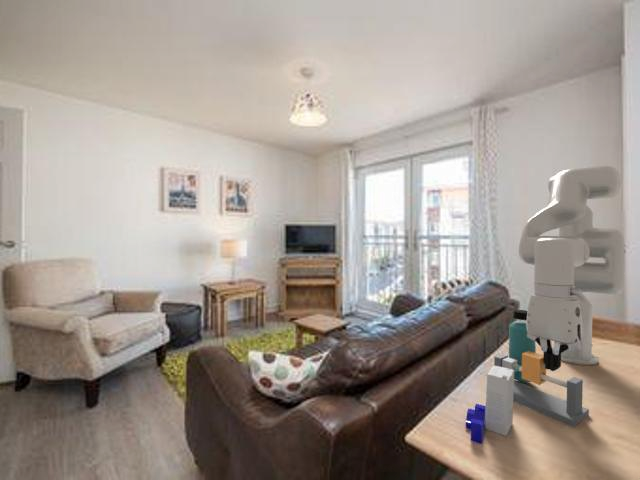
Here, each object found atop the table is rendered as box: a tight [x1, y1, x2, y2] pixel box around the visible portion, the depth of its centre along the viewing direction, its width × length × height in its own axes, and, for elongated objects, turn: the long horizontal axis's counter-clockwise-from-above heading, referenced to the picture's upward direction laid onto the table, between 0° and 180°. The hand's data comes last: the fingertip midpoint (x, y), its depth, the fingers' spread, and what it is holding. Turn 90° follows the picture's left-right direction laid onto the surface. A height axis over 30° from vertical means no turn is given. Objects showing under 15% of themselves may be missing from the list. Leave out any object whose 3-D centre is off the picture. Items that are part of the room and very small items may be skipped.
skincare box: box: [485, 365, 515, 436], centre depth 70 cm, size 6×4×12 cm
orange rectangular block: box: [522, 351, 547, 386], centre depth 80 cm, size 3×4×6 cm
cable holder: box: [465, 403, 486, 445], centre depth 69 cm, size 8×4×4 cm, turn 148°
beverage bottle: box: [508, 309, 537, 383], centre depth 90 cm, size 6×7×20 cm
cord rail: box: [493, 353, 590, 428], centre depth 80 cm, size 8×19×9 cm, turn 32°
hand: (552, 368), depth 76 cm, fingers closed
